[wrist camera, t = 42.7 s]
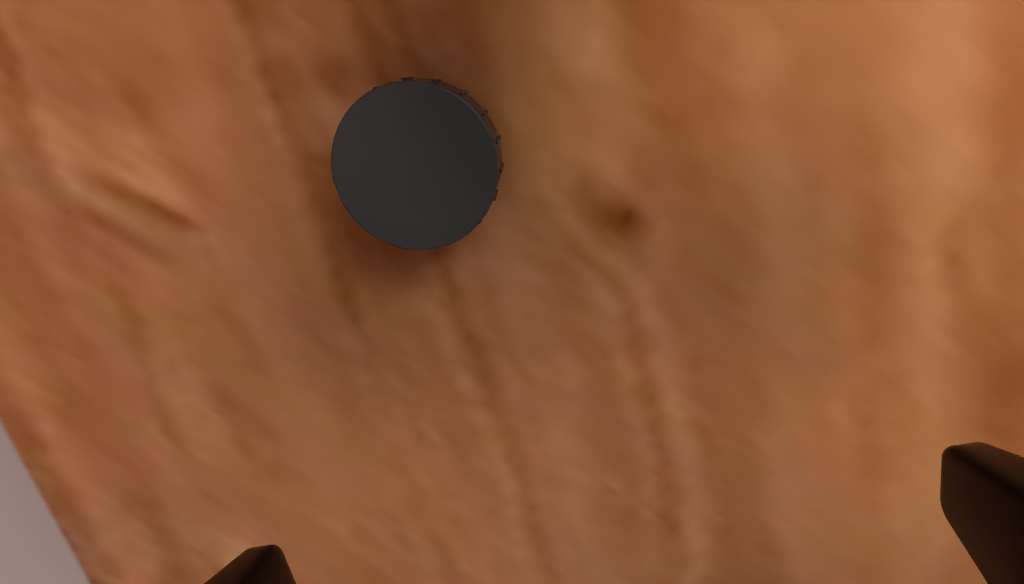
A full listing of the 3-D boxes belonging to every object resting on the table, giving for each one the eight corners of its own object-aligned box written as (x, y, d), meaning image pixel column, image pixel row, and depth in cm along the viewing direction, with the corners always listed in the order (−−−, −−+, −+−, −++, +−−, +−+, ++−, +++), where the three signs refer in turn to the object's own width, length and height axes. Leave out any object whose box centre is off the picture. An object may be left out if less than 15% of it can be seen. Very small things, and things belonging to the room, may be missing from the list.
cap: (366, 242, 18) (349, 260, 16) (333, 87, 16) (311, 89, 15) (512, 226, 18) (509, 243, 16) (491, 66, 16) (487, 66, 14)
